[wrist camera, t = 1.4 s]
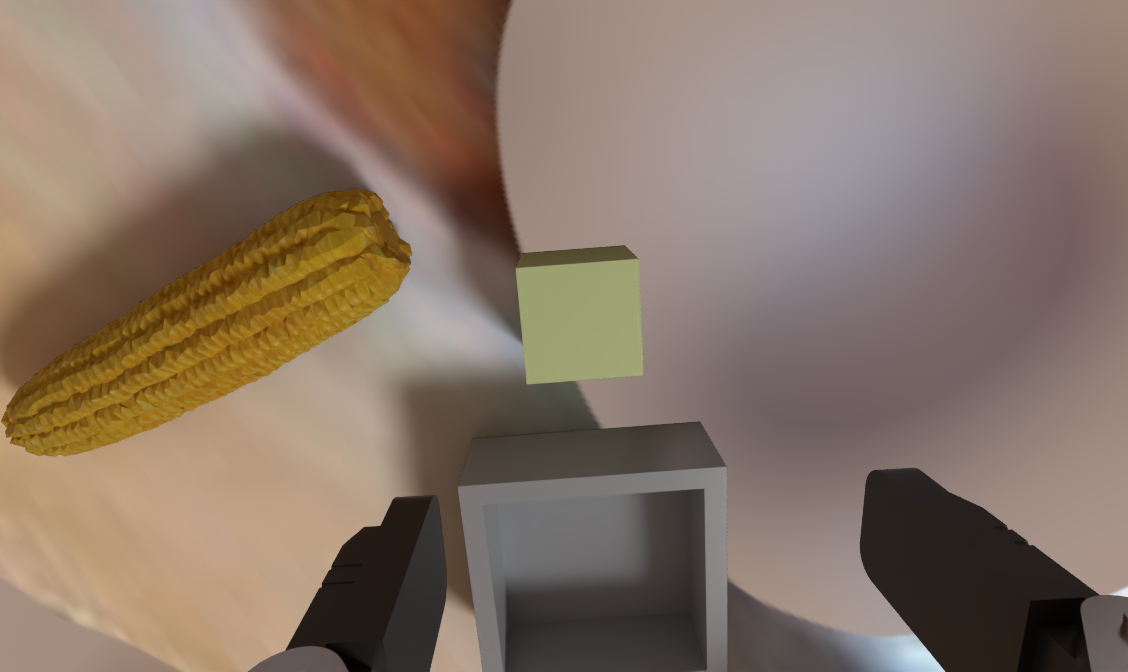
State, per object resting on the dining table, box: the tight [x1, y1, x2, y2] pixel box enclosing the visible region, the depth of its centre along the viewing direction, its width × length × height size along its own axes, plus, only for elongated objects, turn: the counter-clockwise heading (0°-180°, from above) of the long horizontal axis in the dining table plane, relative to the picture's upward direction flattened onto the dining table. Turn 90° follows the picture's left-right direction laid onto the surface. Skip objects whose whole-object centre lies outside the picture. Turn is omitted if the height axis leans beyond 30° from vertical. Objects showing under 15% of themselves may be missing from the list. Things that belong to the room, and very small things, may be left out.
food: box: [1, 189, 412, 457], centre depth 27 cm, size 21×6×6 cm, turn 120°
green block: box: [516, 245, 643, 384], centre depth 27 cm, size 5×5×5 cm
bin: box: [457, 422, 728, 672], centre depth 30 cm, size 12×12×5 cm
